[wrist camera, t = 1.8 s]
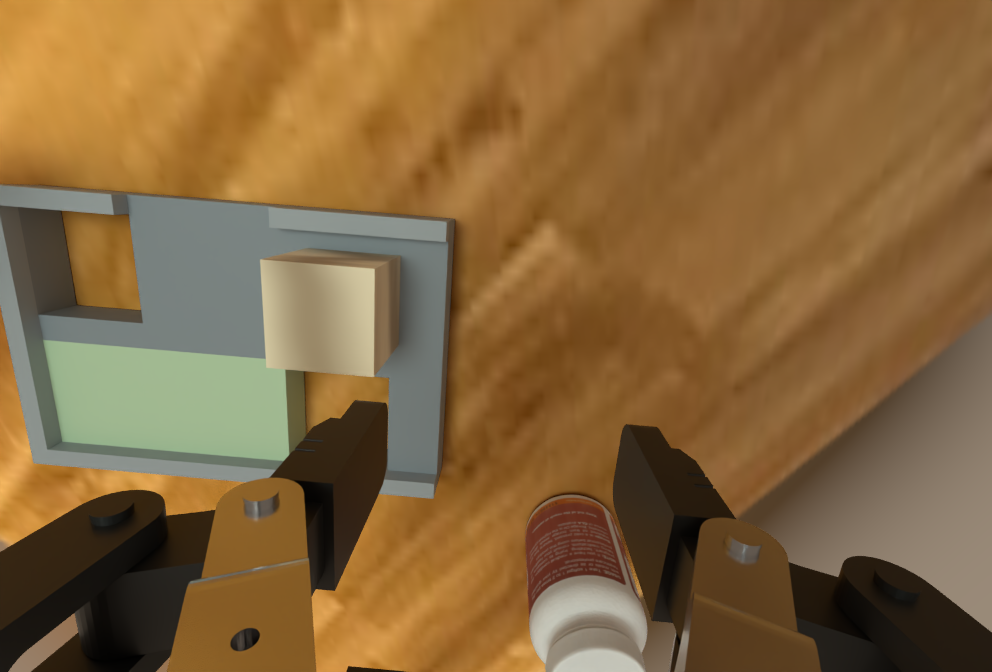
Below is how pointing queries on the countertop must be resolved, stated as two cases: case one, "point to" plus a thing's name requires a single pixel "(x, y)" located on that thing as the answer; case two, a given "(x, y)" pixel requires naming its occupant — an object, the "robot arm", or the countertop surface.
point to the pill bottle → (582, 590)
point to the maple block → (330, 310)
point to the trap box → (205, 336)
